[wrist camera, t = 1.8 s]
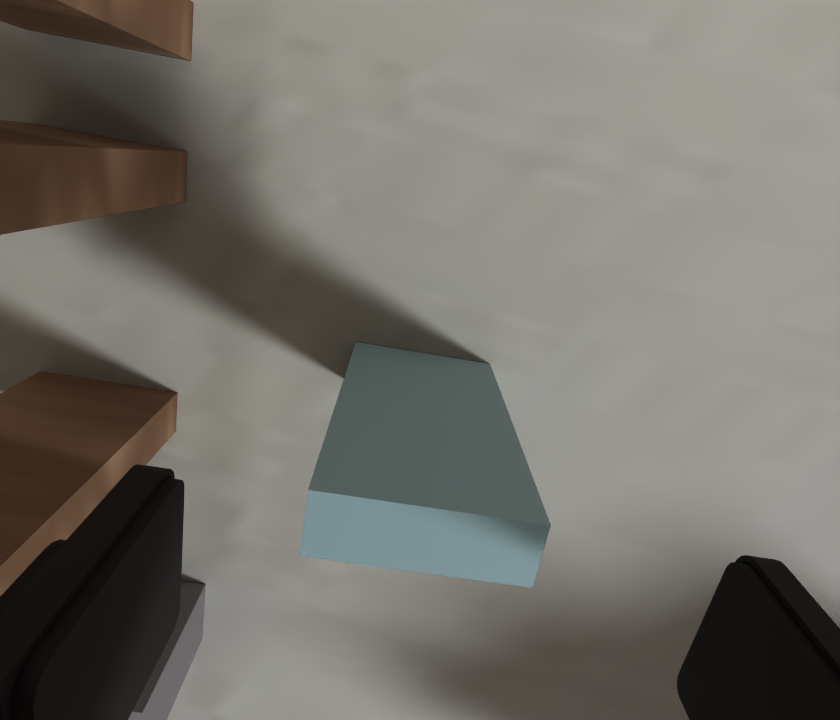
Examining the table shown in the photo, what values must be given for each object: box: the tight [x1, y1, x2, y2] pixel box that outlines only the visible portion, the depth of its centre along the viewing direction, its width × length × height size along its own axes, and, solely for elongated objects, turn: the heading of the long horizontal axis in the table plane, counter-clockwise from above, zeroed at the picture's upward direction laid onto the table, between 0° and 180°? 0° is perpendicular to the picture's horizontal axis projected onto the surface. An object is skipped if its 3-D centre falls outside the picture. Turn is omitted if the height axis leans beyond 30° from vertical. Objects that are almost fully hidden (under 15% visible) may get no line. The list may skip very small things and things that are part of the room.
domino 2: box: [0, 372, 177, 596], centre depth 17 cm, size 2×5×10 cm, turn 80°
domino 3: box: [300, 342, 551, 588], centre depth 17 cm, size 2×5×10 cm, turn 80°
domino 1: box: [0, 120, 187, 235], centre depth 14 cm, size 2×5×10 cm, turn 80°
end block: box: [128, 581, 205, 720], centre depth 22 cm, size 3×8×6 cm, turn 80°
